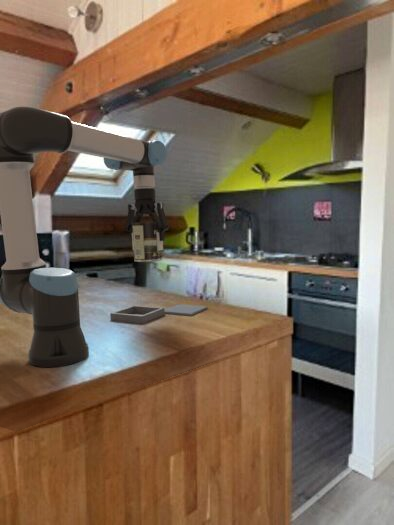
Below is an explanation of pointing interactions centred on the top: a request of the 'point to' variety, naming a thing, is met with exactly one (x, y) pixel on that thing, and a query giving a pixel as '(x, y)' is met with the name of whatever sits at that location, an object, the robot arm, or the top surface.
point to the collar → (128, 317)
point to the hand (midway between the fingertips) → (147, 250)
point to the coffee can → (145, 242)
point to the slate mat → (185, 309)
